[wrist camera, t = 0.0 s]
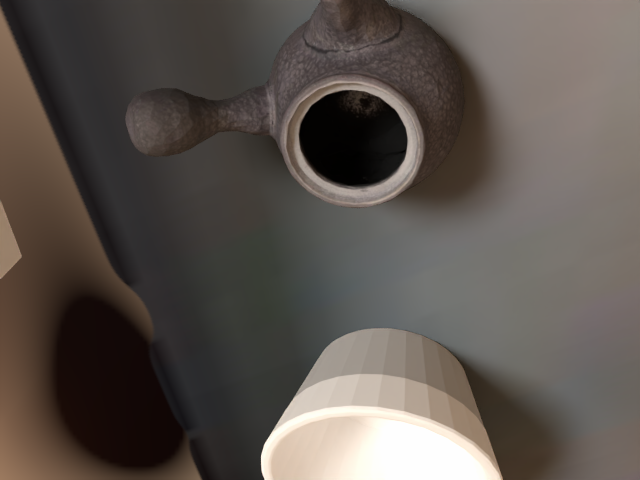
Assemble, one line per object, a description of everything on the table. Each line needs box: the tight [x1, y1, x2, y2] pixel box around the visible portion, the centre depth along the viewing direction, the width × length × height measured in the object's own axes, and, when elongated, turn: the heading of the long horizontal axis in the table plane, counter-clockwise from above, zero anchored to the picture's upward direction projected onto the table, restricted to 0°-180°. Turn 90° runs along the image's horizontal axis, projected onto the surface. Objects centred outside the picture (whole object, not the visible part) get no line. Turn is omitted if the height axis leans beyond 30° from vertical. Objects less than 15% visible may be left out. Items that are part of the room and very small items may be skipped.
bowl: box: [261, 328, 503, 480], centre depth 51 cm, size 19×19×11 cm
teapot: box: [125, 0, 464, 208], centre depth 35 cm, size 19×15×10 cm
